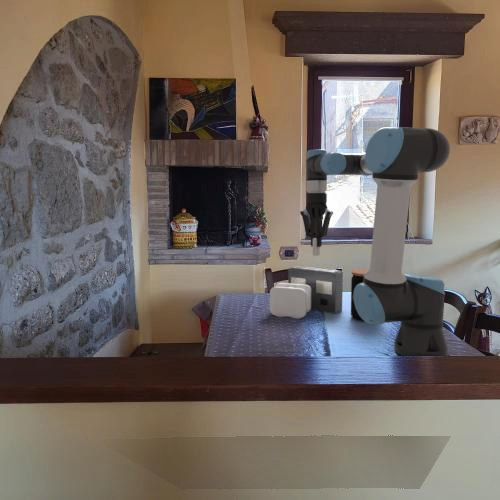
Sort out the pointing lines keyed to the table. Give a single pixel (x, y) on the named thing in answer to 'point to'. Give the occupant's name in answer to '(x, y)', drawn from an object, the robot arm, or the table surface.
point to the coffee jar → (355, 280)
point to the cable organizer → (290, 300)
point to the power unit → (320, 286)
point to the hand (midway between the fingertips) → (316, 255)
